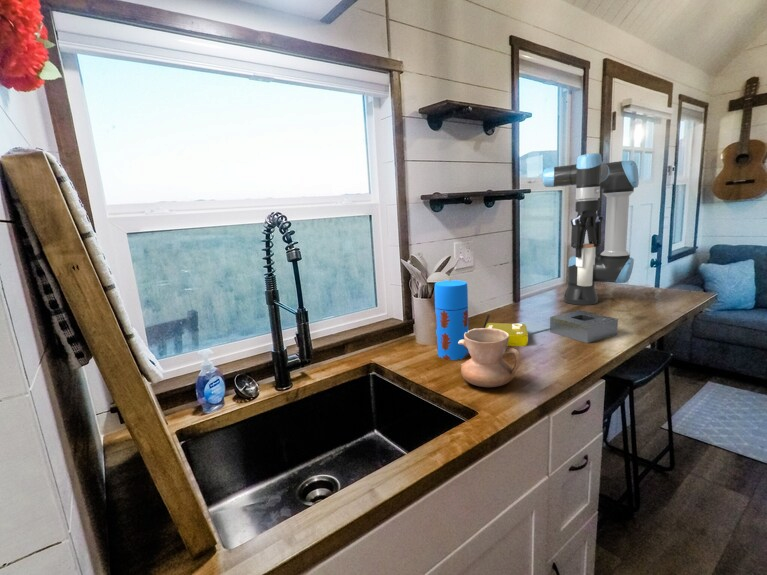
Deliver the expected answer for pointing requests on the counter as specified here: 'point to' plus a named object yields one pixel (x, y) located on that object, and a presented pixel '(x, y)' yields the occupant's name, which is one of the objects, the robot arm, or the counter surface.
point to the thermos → (451, 318)
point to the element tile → (512, 332)
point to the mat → (534, 327)
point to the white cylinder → (586, 267)
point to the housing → (583, 326)
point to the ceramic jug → (488, 358)
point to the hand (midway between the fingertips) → (585, 265)
